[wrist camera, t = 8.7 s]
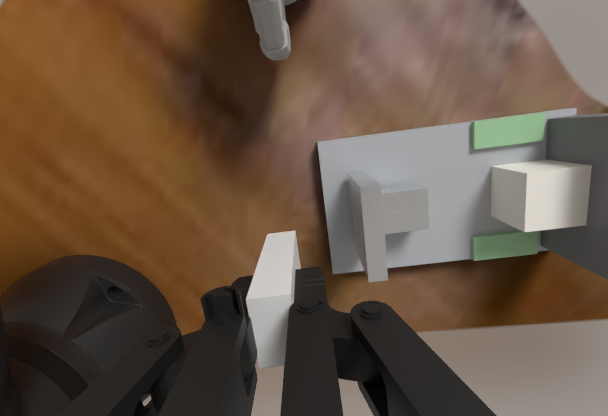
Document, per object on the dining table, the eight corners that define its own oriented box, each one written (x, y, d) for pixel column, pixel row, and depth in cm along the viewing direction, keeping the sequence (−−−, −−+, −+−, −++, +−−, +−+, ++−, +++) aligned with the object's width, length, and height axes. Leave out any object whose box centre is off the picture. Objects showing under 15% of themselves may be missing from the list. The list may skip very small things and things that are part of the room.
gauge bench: (332, 268, 27) (340, 324, 19) (317, 141, 25) (320, 147, 17) (554, 243, 26) (659, 292, 19) (563, 109, 24) (690, 98, 16)
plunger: (354, 246, 25) (368, 282, 19) (347, 172, 24) (360, 187, 18) (420, 239, 25) (454, 272, 19) (417, 163, 23) (452, 175, 17)
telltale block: (490, 216, 25) (524, 232, 21) (491, 166, 24) (527, 173, 20) (542, 210, 25) (586, 225, 21) (545, 159, 24) (591, 165, 20)
